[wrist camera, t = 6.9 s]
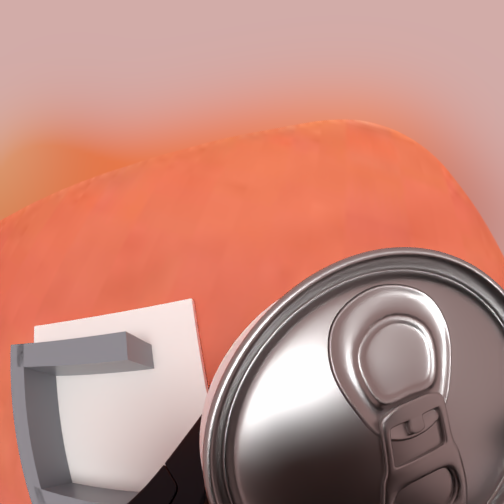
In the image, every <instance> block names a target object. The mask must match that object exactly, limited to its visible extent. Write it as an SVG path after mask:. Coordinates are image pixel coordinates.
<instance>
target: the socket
mask: <svg viewBox="0 0 504 504" xmlns="http://www.w3.org/2000/svg"><path fill="white" fill-rule="evenodd" d="M11 391H12V405H13V415H14V424H15V431H16V438H17V444H18V449H19V455H20V459H21V464H22V469H23V473H24V477H25V481H26V484H27V488H28V492H29V495H30V498H31V502H32V504H127V503H128V502H129V501H130V500H132V499H133V498H134V497H135V496H136V495H137V494H138V493H139V492H140V491H141V490H142V489H143V488H144V487H145V486H146V485H147V484H148V483H149V481H150V480H151V479H152V478H153V477H154V476H155V474H156V473H157V472H158V471H159V469H160V468H161V467H162V466H163V465H165V462H166V461H167V459H168V458H169V457H170V456H171V454H172V453H173V452H174V450H175V449H176V448H177V446H178V445H179V444H180V443H181V441H182V440H183V439H184V437H185V436H186V435H187V433H188V432H189V431H190V429H191V428H192V427H193V425H194V424H195V423H196V421H197V420H198V418H199V417H200V416H201V414H202V412H203V408H204V404H205V400H206V397H207V394H208V391H209V390H208V385H207V379H206V374H205V368H204V362H203V356H202V350H201V344H200V338H199V332H198V325H197V318H196V311H195V304H194V301H193V300H192V298H191V299H186V300H181V301H176V302H171V303H166V304H161V305H156V306H151V307H145V308H140V309H135V310H129V311H124V312H118V313H113V314H107V315H101V316H96V317H90V318H84V319H78V320H72V321H65V322H59V323H53V324H46V325H40V326H34V343H28V344H16V345H11ZM165 466H166V465H165Z"/></svg>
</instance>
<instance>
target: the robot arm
mask: <svg viewBox="0 0 504 504" xmlns="http://www.w3.org/2000/svg"><path fill="white" fill-rule="evenodd" d="M201 418H202V414H201V416H200V417H199V418H198V420H197V421H196V423H195V424H194V425H193V427H192V428H191V429H190V431H189V432H188V433H187V435H186V436H185V437H184V439H183V440H182V441H181V443H180V444H179V445H178V446H177V448H176V449H175V450H174V452H173V453H172V454H171V456H170V457H169V458H168V459H167V461H166V462H165V465H166V466H165V465H163V466H162V467H161V468H160V469H159V471H158V472H157V473H156V474H155V476H154V477H153V478H152V479H151V480H150V481H149V483H148V484H147V485H146V486H145V487H144V488H143V489H142V490H141V491H140V492H139V493H138V494H137V495H136V496H135V497H134V498H133V499H132V500H130V501H129V502H128V503H127V504H209V502H208V498H207V494H206V490H205V484H204V478H203V470H202V465H201V458H200V425H201Z"/></svg>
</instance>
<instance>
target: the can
mask: <svg viewBox="0 0 504 504" xmlns="http://www.w3.org/2000/svg"><path fill="white" fill-rule="evenodd" d="M200 458H201V465H202V470H203V478H204V484H205V490H206V494H207V498H208V502H209V504H504V290H503V289H502V288H501V287H500V286H499V285H498V284H497V283H496V282H495V281H494V280H493V279H492V278H491V277H489V276H488V275H487V274H485V273H484V272H483V271H481V270H480V269H478V268H477V267H475V266H473V265H472V264H470V263H468V262H466V261H464V260H462V259H460V258H457V257H455V256H452V255H449V254H446V253H443V252H439V251H435V250H430V249H424V248H413V247H396V248H385V249H378V250H373V251H368V252H364V253H360V254H357V255H354V256H351V257H348V258H345V259H343V260H340V261H338V262H336V263H333V264H331V265H329V266H327V267H325V268H323V269H321V270H320V271H318V272H316V273H314V274H313V275H311V276H309V277H308V278H306V279H305V280H303V281H302V282H301V283H299V284H298V285H296V286H295V287H294V288H292V289H291V290H290V291H289V292H287V293H286V294H285V295H284V296H283V297H281V298H280V299H279V300H277V301H276V302H274V303H273V304H272V305H270V306H269V307H268V308H267V309H266V310H264V311H263V312H262V313H261V314H260V315H259V316H258V317H256V318H255V319H254V320H253V321H252V322H251V323H250V324H249V325H248V327H247V328H246V329H245V330H244V331H243V332H242V333H241V335H240V336H239V337H238V338H237V340H236V341H235V342H234V343H233V345H232V346H231V348H230V349H229V351H228V352H227V354H226V355H225V357H224V359H223V360H222V362H221V364H220V366H219V368H218V370H217V372H216V374H215V376H214V378H213V380H212V383H211V385H210V388H209V391H208V394H207V397H206V400H205V404H204V408H203V412H202V418H201V425H200Z"/></svg>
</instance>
